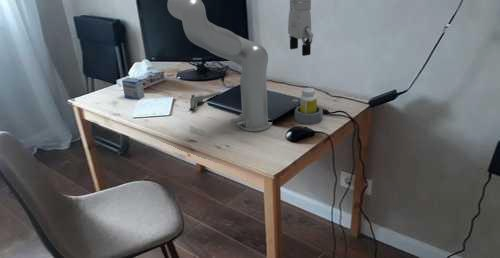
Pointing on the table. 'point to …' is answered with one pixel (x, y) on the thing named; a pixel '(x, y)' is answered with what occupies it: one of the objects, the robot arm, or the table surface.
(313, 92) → the pill bottle
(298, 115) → the socket cup
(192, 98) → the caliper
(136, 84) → the medicine box
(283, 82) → the table surface
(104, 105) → the table surface
